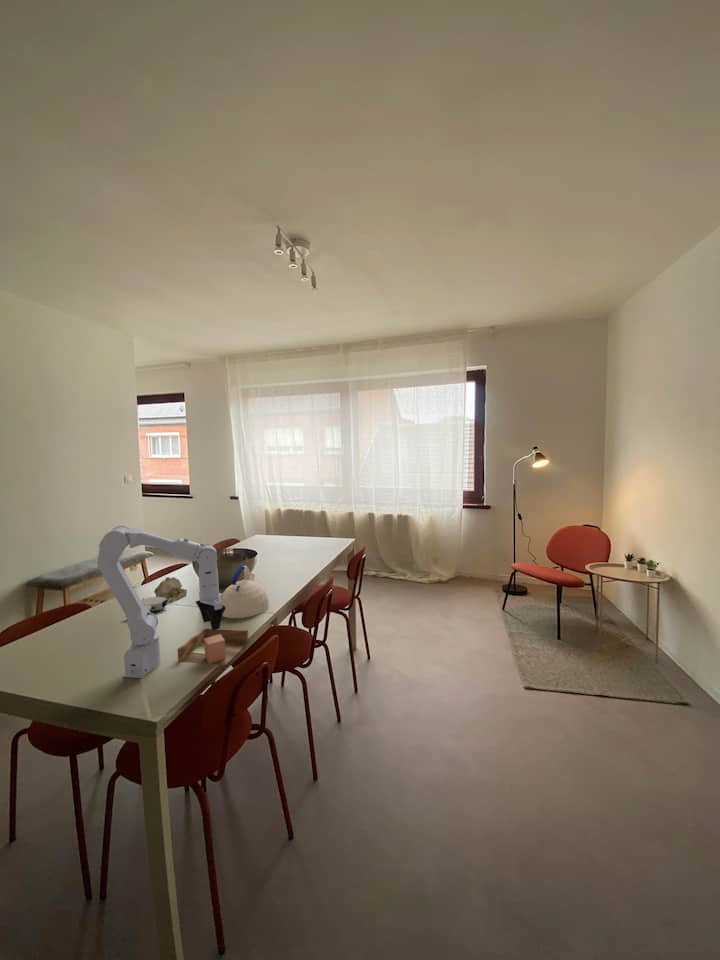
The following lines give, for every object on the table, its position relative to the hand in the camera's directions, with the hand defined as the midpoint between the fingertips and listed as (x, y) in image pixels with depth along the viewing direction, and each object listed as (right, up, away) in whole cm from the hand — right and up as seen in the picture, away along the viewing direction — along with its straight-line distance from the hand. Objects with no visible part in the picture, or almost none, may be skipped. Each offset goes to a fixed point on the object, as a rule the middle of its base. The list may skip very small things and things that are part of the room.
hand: (211, 625), depth 126 cm
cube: (+2, -9, -3) cm, 10 cm away
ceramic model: (-39, -8, +53) cm, 66 cm away
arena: (0, -10, +2) cm, 10 cm away
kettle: (-1, -8, +39) cm, 39 cm away
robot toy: (-40, -9, +37) cm, 55 cm away
